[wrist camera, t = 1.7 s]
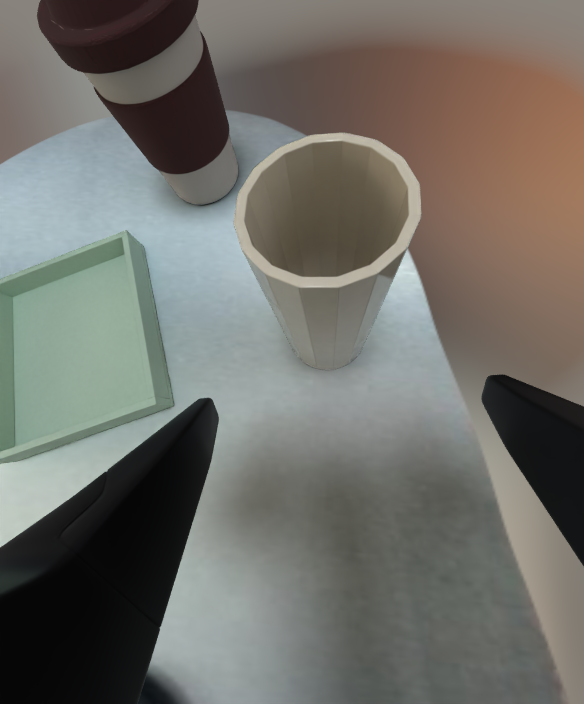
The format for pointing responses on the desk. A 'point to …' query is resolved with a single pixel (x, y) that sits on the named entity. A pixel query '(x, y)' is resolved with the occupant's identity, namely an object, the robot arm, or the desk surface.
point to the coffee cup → (152, 84)
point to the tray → (78, 347)
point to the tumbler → (327, 238)
